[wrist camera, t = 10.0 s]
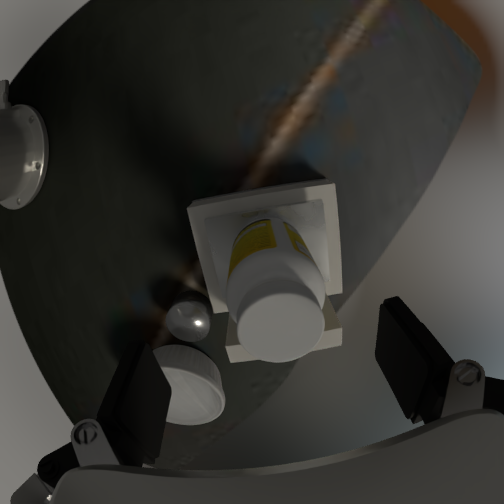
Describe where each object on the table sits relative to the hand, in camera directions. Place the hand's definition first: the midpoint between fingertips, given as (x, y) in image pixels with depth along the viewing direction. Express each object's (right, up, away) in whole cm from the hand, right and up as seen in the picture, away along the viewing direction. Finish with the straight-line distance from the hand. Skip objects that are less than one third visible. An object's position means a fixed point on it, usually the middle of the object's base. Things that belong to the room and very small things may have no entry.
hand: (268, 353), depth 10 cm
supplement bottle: (+1, +4, +11) cm, 12 cm away
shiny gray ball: (-7, -2, +19) cm, 20 cm away
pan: (+1, +4, +13) cm, 13 cm away
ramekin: (-9, -11, +22) cm, 26 cm away
